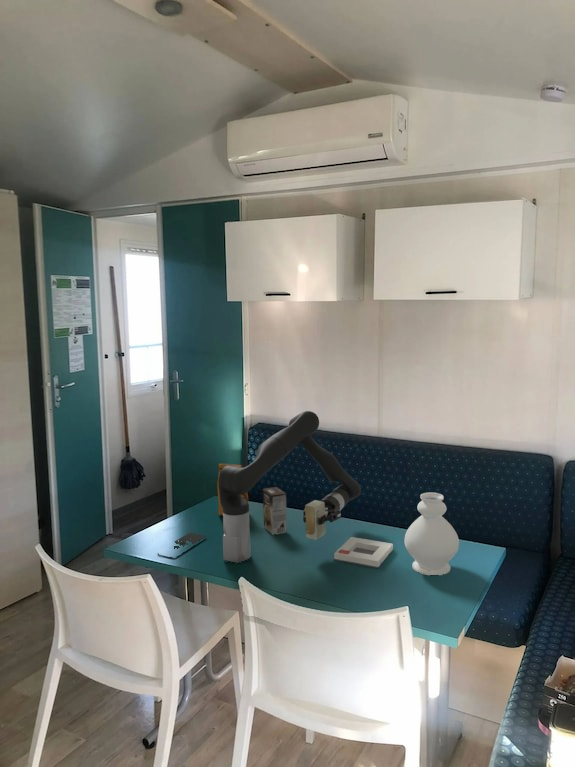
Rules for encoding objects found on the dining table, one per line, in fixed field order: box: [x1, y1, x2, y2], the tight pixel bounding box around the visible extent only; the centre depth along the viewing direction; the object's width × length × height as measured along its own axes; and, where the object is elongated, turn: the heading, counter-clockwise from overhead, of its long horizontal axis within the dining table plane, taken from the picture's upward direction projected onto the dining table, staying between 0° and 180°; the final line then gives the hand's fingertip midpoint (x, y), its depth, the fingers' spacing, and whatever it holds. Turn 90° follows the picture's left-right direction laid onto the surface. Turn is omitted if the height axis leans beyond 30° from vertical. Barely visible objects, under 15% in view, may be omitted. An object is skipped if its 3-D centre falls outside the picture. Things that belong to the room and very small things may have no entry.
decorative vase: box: [404, 491, 460, 576], centre depth 213 cm, size 18×18×25 cm
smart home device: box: [174, 532, 207, 549], centre depth 238 cm, size 8×2×20 cm
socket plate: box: [333, 536, 394, 569], centre depth 226 cm, size 16×16×3 cm
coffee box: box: [262, 486, 288, 536], centre depth 250 cm, size 9×6×16 cm
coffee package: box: [216, 463, 249, 516], centre depth 268 cm, size 10×12×22 cm
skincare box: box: [304, 499, 326, 541], centre depth 225 cm, size 6×4×12 cm
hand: (312, 521), depth 223 cm, fingers closed on skincare box, 5 cm apart
